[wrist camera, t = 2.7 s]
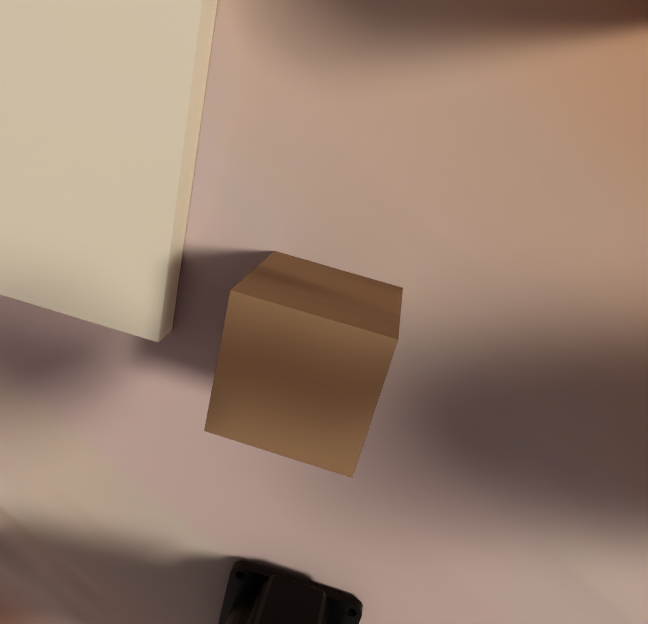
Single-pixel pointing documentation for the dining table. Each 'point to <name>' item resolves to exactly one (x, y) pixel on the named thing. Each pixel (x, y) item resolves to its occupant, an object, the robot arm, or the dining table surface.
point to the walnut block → (304, 361)
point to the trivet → (100, 154)
